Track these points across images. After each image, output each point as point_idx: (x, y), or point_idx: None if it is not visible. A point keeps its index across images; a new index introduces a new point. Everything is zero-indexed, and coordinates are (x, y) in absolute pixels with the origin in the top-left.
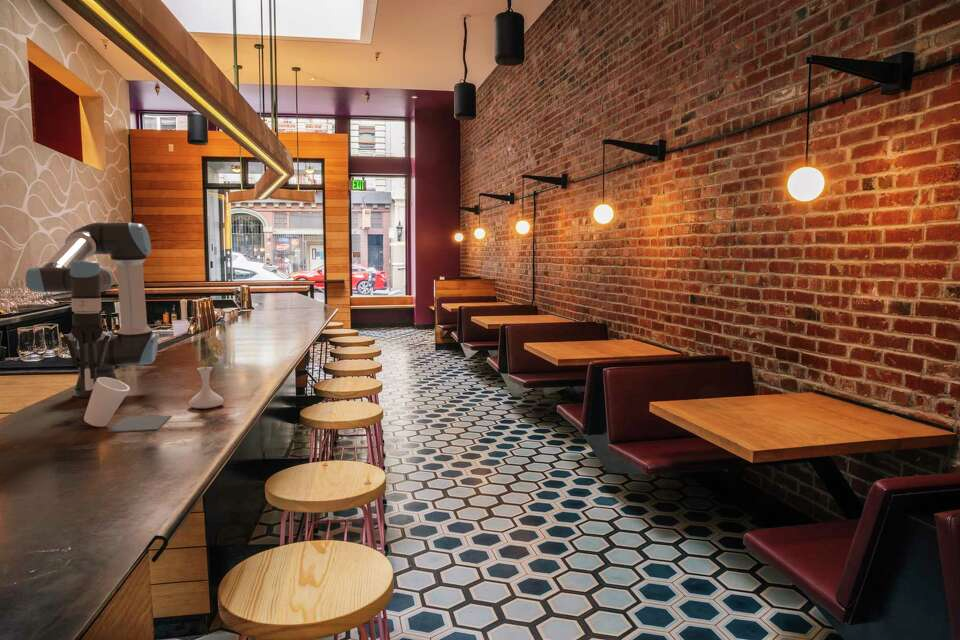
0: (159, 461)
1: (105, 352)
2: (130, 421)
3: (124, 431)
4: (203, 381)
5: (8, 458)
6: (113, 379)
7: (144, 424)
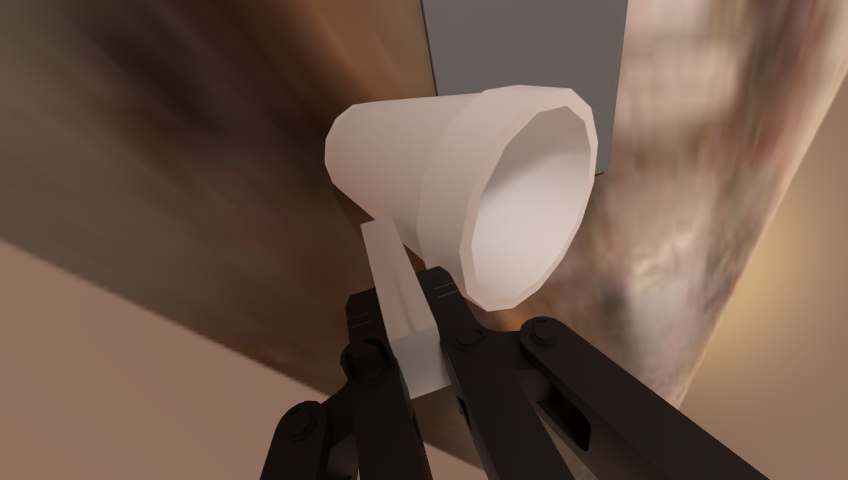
0: (636, 349)
1: (724, 464)
2: (483, 71)
3: None
4: None
5: None
6: (515, 133)
7: None
